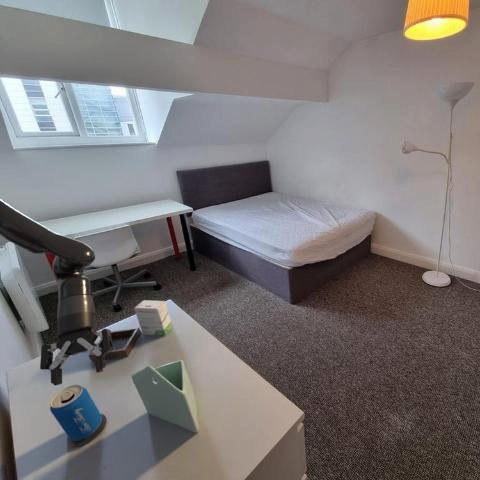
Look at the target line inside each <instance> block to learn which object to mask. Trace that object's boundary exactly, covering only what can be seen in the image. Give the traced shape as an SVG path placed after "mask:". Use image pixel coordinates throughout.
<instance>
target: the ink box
mask: <svg viewBox="0 0 480 480" xmlns="http://www.w3.org/2000/svg"><path fill="white" fill-rule="evenodd" d="M133 309H134V312H135V315H136V318H137V321H138V324H139V328H140V331H141V333H142V335H143V336H164V337H165V336H167V335H168V333H169V332H170V331H171V329H172V328H173V323H172V319H171V316H170V313H169V309H168V306H167V303H166V300H150V299H149V300H145V299H143V300H142V301H141V302H139V303H138V304H137V305H136V306H135V307H134V308H133Z"/></svg>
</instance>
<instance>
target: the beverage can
mask: <svg viewBox="0 0 480 480" xmlns="http://www.w3.org/2000/svg"><path fill="white" fill-rule="evenodd" d="M49 410H50V413H51V414H52V415H53V417H54V418H55V420H56V421H57V422H58V424H59V425H60V427H61V429H62V430H63V432H65V434H66V435H67V438H68V437H69V438H70V439H71V440H73V441H76V440H81V439H83V438H85V437H87V436H89V435H90V434H92V433H93V432H94V431H95V430H96V429H97V428H98V427H99V425H100V423H101V421H102V415H101V414H102V413H101V411H100V410H99V409H98V407H97V405H96V403H95V401H94V400H93V398H92V396H91V395H90V393H89V391H88V389H87V388H86V387H85V386H82V385H80V384H73V385H69V386H67V387H64V388H63V389H61V390H60V391H58V392H57V393H56V394H55V395H54V396H53V397H52V398H51V400H50V407H49Z"/></svg>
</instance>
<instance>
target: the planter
mask: <svg viewBox="0 0 480 480" xmlns="http://www.w3.org/2000/svg"><path fill="white" fill-rule="evenodd" d="M131 379H132V381H133V382H132V383H133V384H134V386H135V389H136V391H137V393H138V395H139V397H140V399H141V401H142V404H143V406H144V408H145V410H146V412H147V414H149V415H152V416H154V417H157V418H158V419H161V420H164V421H166V422H168V423H170V424H173V425H175V426H178V427H180V428H183V429H185V430H187V431H190V432H192V433H195V434H198V433H199V430H200V428H199V419H198V407H197V400H196V394H195V392H194V389H193V386H192V383H191V380H190V377H189V373H188V371H187V369H186V366H185V363H184V360H183V359H179V360H176V361H173V362H168V363H165V364H163V365H160V366H157V367H153V366H151V365H146V366H145V367H144V368H142V369H141V370H139V371H136V372H135V373H132V374H131Z"/></svg>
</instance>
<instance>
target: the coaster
mask: <svg viewBox="0 0 480 480" xmlns="http://www.w3.org/2000/svg"><path fill="white" fill-rule="evenodd" d="M100 414H101V415H102V421H101V423H100V425H99V427H98V428H97V429H96V430H95V431H94V432H93V433H92V434H90V435H89V436H87V437H85V438H83V439H81V440H76V441H73V440H71V439H70V438H69V437H68V436H67V439H66V442H67V444H68V445H69V446H70V447H72V448H79V447H83V446H85V445H87V444H89V443H91V442H92V441H94V440H95V439H96V438H97V437H99V435H100V434H102V432H103V431H104V430H105V428H106V426H107V422H108V419H107V416H106V415H105V414H103V413H100Z"/></svg>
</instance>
